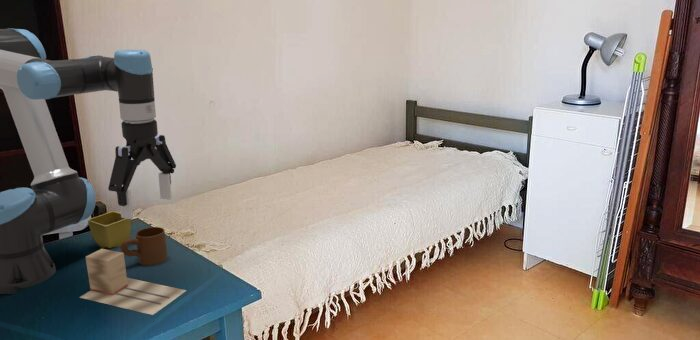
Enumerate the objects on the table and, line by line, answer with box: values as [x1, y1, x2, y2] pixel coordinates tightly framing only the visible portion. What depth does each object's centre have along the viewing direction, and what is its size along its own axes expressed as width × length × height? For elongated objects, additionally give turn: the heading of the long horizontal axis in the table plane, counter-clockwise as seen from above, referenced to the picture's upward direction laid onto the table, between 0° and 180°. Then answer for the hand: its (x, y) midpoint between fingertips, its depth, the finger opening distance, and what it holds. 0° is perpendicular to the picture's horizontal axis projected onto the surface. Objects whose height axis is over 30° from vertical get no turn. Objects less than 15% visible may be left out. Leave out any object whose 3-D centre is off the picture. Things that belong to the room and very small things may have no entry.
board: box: [79, 277, 187, 316], centre depth 132 cm, size 22×12×1 cm, turn 69°
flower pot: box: [87, 210, 132, 249], centre depth 160 cm, size 9×9×9 cm
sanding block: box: [85, 248, 128, 295], centre depth 133 cm, size 7×5×9 cm
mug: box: [120, 226, 169, 267], centre depth 147 cm, size 12×8×9 cm, turn 134°
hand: (147, 207), depth 129 cm, fingers open, 13 cm apart
